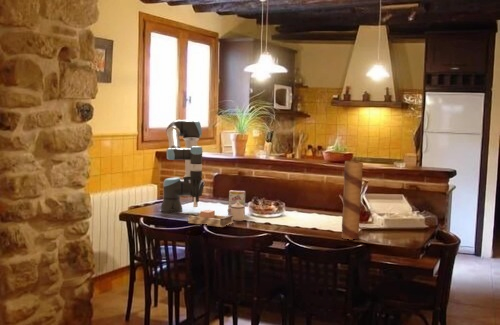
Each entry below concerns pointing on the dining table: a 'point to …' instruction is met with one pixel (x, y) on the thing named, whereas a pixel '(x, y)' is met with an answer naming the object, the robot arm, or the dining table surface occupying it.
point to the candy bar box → (236, 198)
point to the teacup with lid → (237, 211)
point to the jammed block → (207, 214)
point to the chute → (212, 220)
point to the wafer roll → (351, 199)
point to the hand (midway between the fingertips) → (195, 206)
